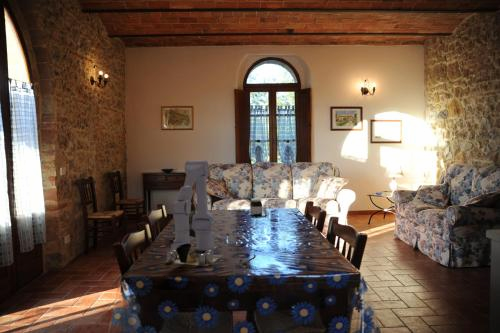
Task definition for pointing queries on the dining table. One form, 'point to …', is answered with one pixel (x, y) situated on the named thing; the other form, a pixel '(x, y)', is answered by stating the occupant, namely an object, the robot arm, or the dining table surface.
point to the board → (197, 260)
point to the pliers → (246, 262)
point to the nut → (191, 257)
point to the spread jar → (257, 207)
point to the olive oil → (192, 213)
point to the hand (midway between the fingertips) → (183, 262)
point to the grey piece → (202, 258)
